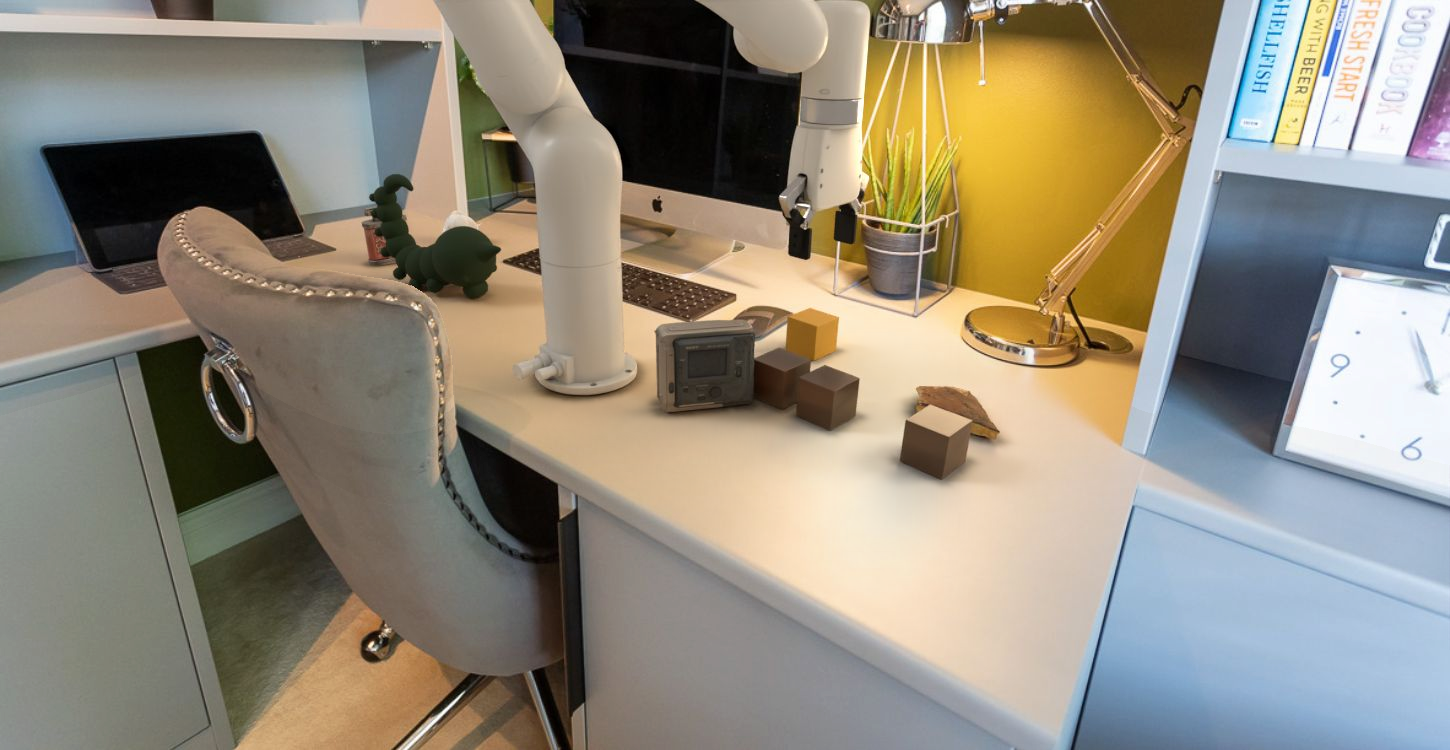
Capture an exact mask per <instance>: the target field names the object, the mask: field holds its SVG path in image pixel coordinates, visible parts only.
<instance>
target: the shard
mask: <svg viewBox="0 0 1450 750" xmlns="http://www.w3.org/2000/svg"><path fill="white" fill-rule="evenodd" d="M915 391H916V392H917V394H918V402H917V403H916V405H915V410H916V413H917V412H919V411H921V410H922V409H924V408H925V407H927V406H929V405H933V406H936V407H938V408H941V409H944V410H946V411H949V412H952V413H954V414H957V415H960V416H962V417H965V418H967V419H970V420H973V423H972V428H971V434H972V435H977V436H979V437H980V436H982V437H985V438H989V439H990V440H991V439H992V440H996V439H997V435H998V434H1000V433H1001V431H1000V430H999V429H998V428H997V426H996V424H995V423H993V421H992V420H991V418H990V417H989V415H988V413H987V411H986V409H984V407H983V405H982V404H981V403H980V401H979V400H978V399H977V398H976V397H975V396H974V395H973V394H972V392H971V391H970V390H966V389H963V388H959V387H955V386H945V385H944V386H940V385H937V386H936V385H935V386H933V385H930V386H929V385H928V386H926V385H919V386H916V387H915Z"/></svg>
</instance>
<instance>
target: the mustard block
mask: <svg viewBox="0 0 1450 750" xmlns="http://www.w3.org/2000/svg"><path fill="white" fill-rule="evenodd" d="M786 320H787V322H786V335H785V337H786V338H785V350H787V351H790V352H792V353H795V354H798V355H800V356H803V357H806V358H808V359H811V361H817V360H820V359H821V358H824V357H825V356H827V355H830V354H832V353H834V352H836V351H837V342H838V332H839V323H840V317H839V316H836V315H834V314H830V313H827V312H825V311H821V310H818V309H815V308H812V307H808V308H806V309H803V310H801V311H798V312H795V313H793V314H790V315H788V316H787V318H786Z"/></svg>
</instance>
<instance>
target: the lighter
mask: <svg viewBox="0 0 1450 750" xmlns="http://www.w3.org/2000/svg"><path fill="white" fill-rule="evenodd" d="M377 206H378V205H374V206H369V207H365V208H364V209H363V214H364V216H365V217H371V218H370V219H367V220H363V221H361V227H362V228H363V233H364V238H365V242H366V249H367V255H368V259H367V261H368V265H369V266H371V267H381V266H385V265H389V264H390V265H391V264H395V263H396V259H395V258H393V257H392V256H390V257H383V256H382V255H381V254H380V251H381V249H382V248H383V247H386V239H385V238H384V237H383V236H382V237H378V236H376V235H375V234H374V231H375V229H376V228H380V227H381V223H382V222H381V221H380V220H379V219H378V218H377V219H376V218H374V217H372V216H371V211H372V210H373V209H376V208H377ZM402 219H404V220H405V222H406V223H407V221H408V219H407V215H406V214H403V216H402Z"/></svg>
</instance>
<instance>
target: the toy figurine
mask: <svg viewBox="0 0 1450 750" xmlns="http://www.w3.org/2000/svg"><path fill="white" fill-rule="evenodd" d="M401 188H405V189H406V190H408V191H409V192H413V191H414V185H413V184H412V182H411V181H410V179H409V178H408V177H406V176H405V175H403V174H400V173H392V174H390V175H387V176H386V177H385V178H384V180H383V184H382V186H379V187H377V188H376V189H375V190H374V192H373V193H370V194H369V196H368V200H370V201H371V202H373V203H375V204H376V206H377V208H376V209H373V210H372V211H371V216H370V217H371V218H372V217H374V218H376V219H377V218H378V219H379V220H380V221H381V222H382V223H381V227H380V228H376V229H375V231H374V234H375V235H376V236H378V237H382V236H383V237H384V238H385V239H386V247H383V248H382V249H381V251H380V254H381V255H382V256H383V257H390V256H392V257H393V258H395V259H396V262H395V263H396V266H397V267H395V268H394V269H393V271H392V276H393V278H395V279H396V280H398V281H402V280H404V279H405V278H406V277H407V276H408V277H409V278H410V280H409V281H408V285H409V284H410V285H412V286H414V287H415V288H417V289H419V290H418V291H420V290H421V289H423V287H424V286H426V289H427V290H428V291H429V292H431V293H434V294H438V293H440V292H441V291H443V289H444V288H445V287H446V286H451V285H452V286H455V287H457V288H458V287H459V288H462V293H463V295H464V296H465V297H466V298H467V299H470V300H475V299H478V298H481V297H483V296H485V295H486V294H487V292H488V291H489V284H488V282H487V280H488V279H489V278H491V276H492V274H493V273H495V272H496V271H497V270H498V265H497V255H499V253H500V252H501V251H502V248H501V246H498V245H495V244H493V242H492V240H491V239H490V238H489V237H488V236H487V235H486V234H485V233H483V231H481V230H480V229H479V230H477V229H475V228H472V227H468V226H458V227H453V228H451V229H449V230H447V231H445V232H444V233H442V232H441V234H440V235H439V236H438V237H437V239H436V240H435V242H434V243H432V244H429V245H428V246H421V245H419V244H417V242H416V239H415V238H414V236H413V235H412V234H411V233H410V229H409V225H408V222H407V221H406V222H405V220H404V219H402V216H403V215H404V214H403V209H402V206H401V205H400V204H399V203H398V202H397V201H398V195H397V192H398V191H399V190H400V189H401ZM410 285H409V286H410Z"/></svg>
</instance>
